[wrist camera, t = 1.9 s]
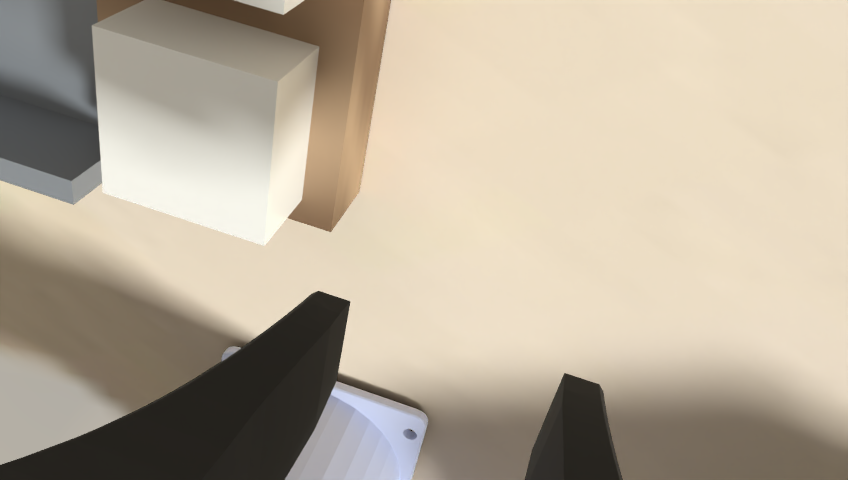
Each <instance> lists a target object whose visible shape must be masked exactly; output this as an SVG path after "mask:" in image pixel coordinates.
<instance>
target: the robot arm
mask: <svg viewBox="0 0 848 480" xmlns="http://www.w3.org/2000/svg"><path fill="white" fill-rule="evenodd" d="M349 306H350V301H347V300H344V299H341V298H338V297H335V296H332V295H329V294H326V293H323V292H320V291H317V292H315V293H313V294H311V295H310V296H309V297H307V298H306V299H305V300H304V301H303V302H301V303H300V304H299V305H298V306H297V307H295V308H294V309H293V310H292V311H290V312H289V313H288V314H287V315H285V316H284V317H283V318H282V319H280V320H279V321H278V322H276V323H275V324H274V325H272V326H271V327H270V328H269V329H267V330H266V331H265V332H263V333H262V334H260V335H259V336H258V337H256V338H255V339H253V340H252V341H251V342H249V343H248V344H246V345H245V346H244V347H242V348H240V347H235V346H232V347H229V348H227V349H226V350H225V352H224V353H223V355H222V359H221V362H220V363H218V364H217V365H215V366H214V367H212V368H210V369H209V370H207V371H206V372H204V373H202V374H201V375H199V376H198V377H196V378H195V379H193V380H191V381H190V382H188V383H186V384H185V385H183V386H181V387H179V388H178V389H176V390H174V391H172V392H170V393H169V394H167V395H165V396H163V397H161V398H159V399H158V400H156V401H154V402H152V403H150V404H148V405H146V406H144V407H142V408H140V409H138V410H136V411H134V412H132V413H130V414H128V415H126V416H123V417H121V418H119V419H117V420H115V421H113V422H111V423H108V424H106V425H104V426H102V427H100V428H98V429H95V430H93V431H91V432H88V433H86V434H84V435H81V436H79V437H76V438H74V439H71V440H68V441H66V442H63V443H60V444H58V445H55V446H52V447H49V448H47V449H44V450H41V451H39V452H36V453H34V454H31V455H28V456H26V457H23V458H20V459H17V460H14V461H11V462H8V463H5V464H2V465H0V480H412V477H413V474H414V470H415V467H416V463H417V460H418V456H419V453H420V449H421V446H422V442H423V439H424V436H425V432H426V429H427V425H428V418H427V416H426V415H425V414H424V413H423V412H422V411H420V410H418V409H416V408H413V407H410V406H407V405H404V404H401V403H398V402H395V401H393V400H390V399H387V398H384V397H381V396H378V395H375V394H372V393H370V392H367V391H364V390H361V389H358V388H355V387H352V386H349V385H346V384H344V383H341V382H338V381H337V375H338V369H339V363H340V358H341V352H342V346H343V341H344V335H345V329H346V323H347V318H348V312H349ZM409 429H411V430H413V431H415V432H413V431H410V430H409ZM525 480H623V479H622V476H621V472H620V469H619V465H618V462H617V458H616V454H615V450H614V446H613V441H612V437H611V433H610V428H609V423H608V418H607V413H606V407H605V401H604V394H603V390H602V389H601V387H600V385H599V384H596V383H593V382H590V381H587V380H584V379H581V378H578V377H575V376H572V375H569V374H566V373H564V376H563V378H562V380H561V383H560V385H559V387H558V390H557V392H556V394H555V397H554V399H553V402H552V404H551V406H550V409H549V411H548V413H547V416H546V418H545V421H544V423H543V425H542V428H541V430H540V432H539V435H538V437H537V440H536V442H535V444H534V447H533V449H532V453H531V457H530V461H529V465H528V469H527V473H526V477H525Z"/></svg>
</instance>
